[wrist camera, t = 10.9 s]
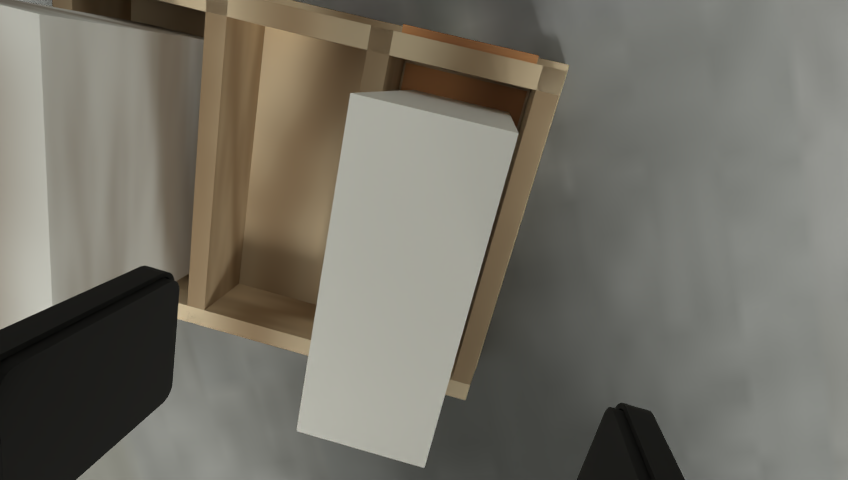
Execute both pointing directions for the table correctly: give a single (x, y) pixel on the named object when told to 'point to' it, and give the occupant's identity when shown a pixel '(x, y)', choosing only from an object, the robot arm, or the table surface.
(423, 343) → the panel
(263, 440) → the table surface
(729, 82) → the table surface
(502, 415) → the table surface
